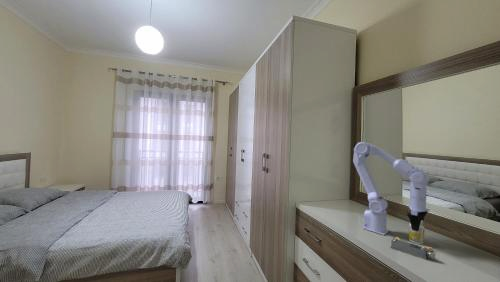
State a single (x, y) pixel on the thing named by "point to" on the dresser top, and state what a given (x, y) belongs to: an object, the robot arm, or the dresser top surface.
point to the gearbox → (411, 249)
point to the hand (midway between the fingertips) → (416, 228)
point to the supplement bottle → (417, 234)
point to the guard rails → (426, 247)
